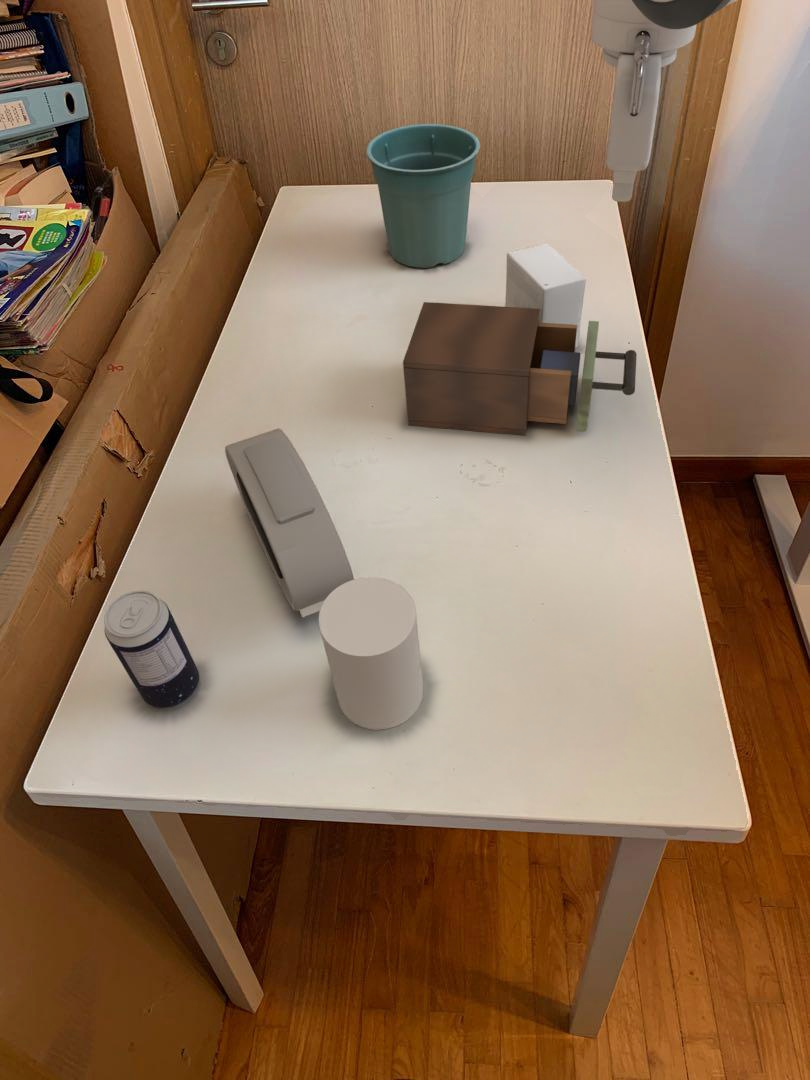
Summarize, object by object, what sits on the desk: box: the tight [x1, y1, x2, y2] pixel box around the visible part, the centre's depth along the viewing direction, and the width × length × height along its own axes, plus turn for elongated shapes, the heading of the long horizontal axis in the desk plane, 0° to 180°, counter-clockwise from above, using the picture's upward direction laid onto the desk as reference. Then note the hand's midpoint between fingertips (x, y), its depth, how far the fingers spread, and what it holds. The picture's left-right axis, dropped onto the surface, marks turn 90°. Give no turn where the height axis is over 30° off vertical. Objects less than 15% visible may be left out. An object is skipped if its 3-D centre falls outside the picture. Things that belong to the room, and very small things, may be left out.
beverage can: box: [103, 590, 200, 709], centre depth 74 cm, size 6×6×12 cm
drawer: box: [527, 320, 637, 433], centre depth 99 cm, size 18×11×8 cm, turn 78°
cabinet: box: [402, 301, 540, 436], centre depth 101 cm, size 15×13×10 cm
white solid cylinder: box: [318, 576, 425, 731], centre depth 73 cm, size 8×8×12 cm
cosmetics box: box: [504, 242, 587, 349], centre depth 109 cm, size 10×6×10 cm, turn 22°
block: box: [540, 350, 582, 406], centre depth 100 cm, size 4×4×4 cm
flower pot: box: [366, 123, 481, 269], centre depth 124 cm, size 16×16×16 cm
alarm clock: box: [224, 428, 355, 619], centre depth 84 cm, size 23×6×13 cm, turn 24°
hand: (623, 175), depth 80 cm, fingers open, 8 cm apart
